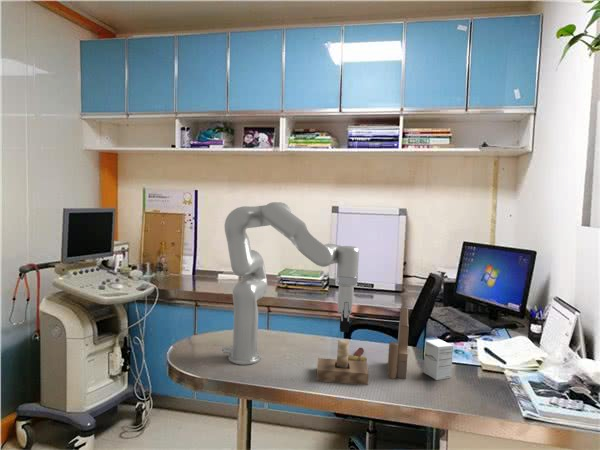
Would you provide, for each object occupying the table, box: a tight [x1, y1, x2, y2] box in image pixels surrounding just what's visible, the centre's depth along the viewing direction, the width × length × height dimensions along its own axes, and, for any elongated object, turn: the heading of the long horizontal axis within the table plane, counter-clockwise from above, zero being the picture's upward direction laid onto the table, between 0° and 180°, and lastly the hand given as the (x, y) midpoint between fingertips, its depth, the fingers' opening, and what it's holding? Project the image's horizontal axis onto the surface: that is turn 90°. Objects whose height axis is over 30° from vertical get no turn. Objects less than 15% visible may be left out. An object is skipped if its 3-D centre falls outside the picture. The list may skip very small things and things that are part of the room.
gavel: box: [348, 347, 368, 364], centre depth 170 cm, size 21×5×10 cm
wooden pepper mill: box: [336, 339, 350, 369], centre depth 151 cm, size 4×4×12 cm
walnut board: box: [316, 357, 370, 386], centre depth 152 cm, size 18×11×4 cm, turn 86°
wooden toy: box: [387, 306, 410, 379], centre depth 158 cm, size 16×7×25 cm, turn 169°
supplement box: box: [423, 338, 454, 381], centre depth 156 cm, size 7×7×13 cm
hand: (344, 330), depth 151 cm, fingers closed
